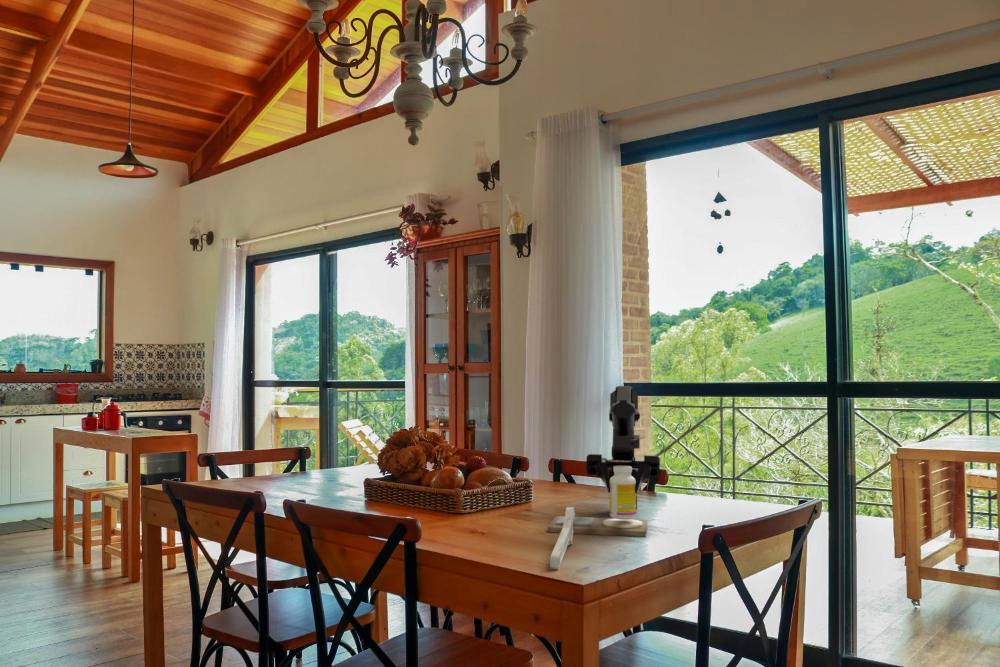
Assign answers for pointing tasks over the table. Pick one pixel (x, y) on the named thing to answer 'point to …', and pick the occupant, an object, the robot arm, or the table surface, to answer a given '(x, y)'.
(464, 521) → the table surface
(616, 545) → the table surface
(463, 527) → the table surface
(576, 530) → the coaster board
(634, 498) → the supplement bottle
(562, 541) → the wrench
